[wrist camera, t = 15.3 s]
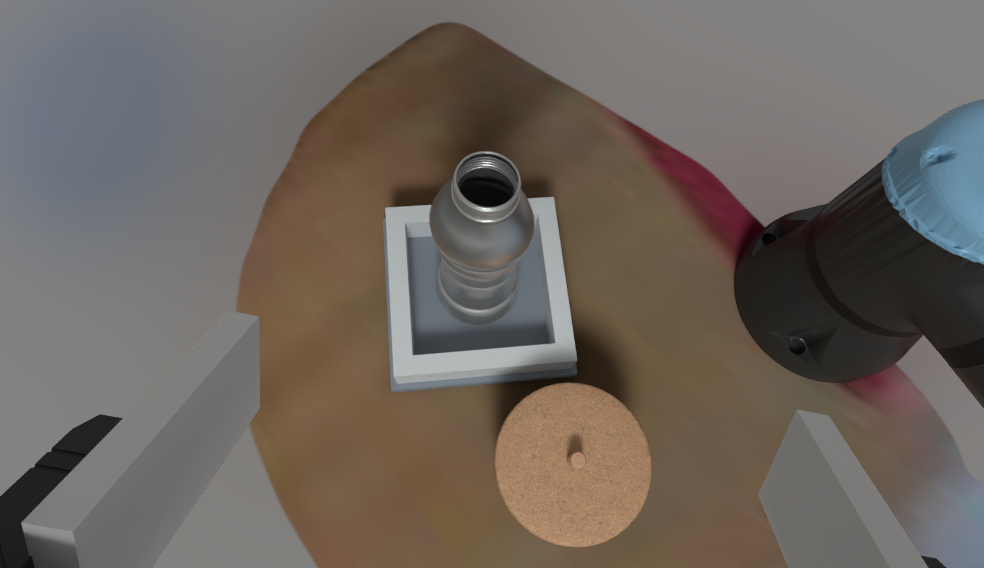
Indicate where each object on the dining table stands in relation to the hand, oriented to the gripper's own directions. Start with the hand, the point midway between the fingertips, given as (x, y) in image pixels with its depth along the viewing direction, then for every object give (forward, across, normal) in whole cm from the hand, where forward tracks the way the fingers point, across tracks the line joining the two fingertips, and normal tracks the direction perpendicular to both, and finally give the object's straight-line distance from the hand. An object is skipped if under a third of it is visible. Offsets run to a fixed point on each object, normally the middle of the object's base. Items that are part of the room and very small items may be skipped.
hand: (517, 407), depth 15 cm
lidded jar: (+26, +6, -24) cm, 36 cm away
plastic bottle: (+35, -2, -15) cm, 38 cm away
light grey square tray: (+35, -2, -15) cm, 38 cm away
